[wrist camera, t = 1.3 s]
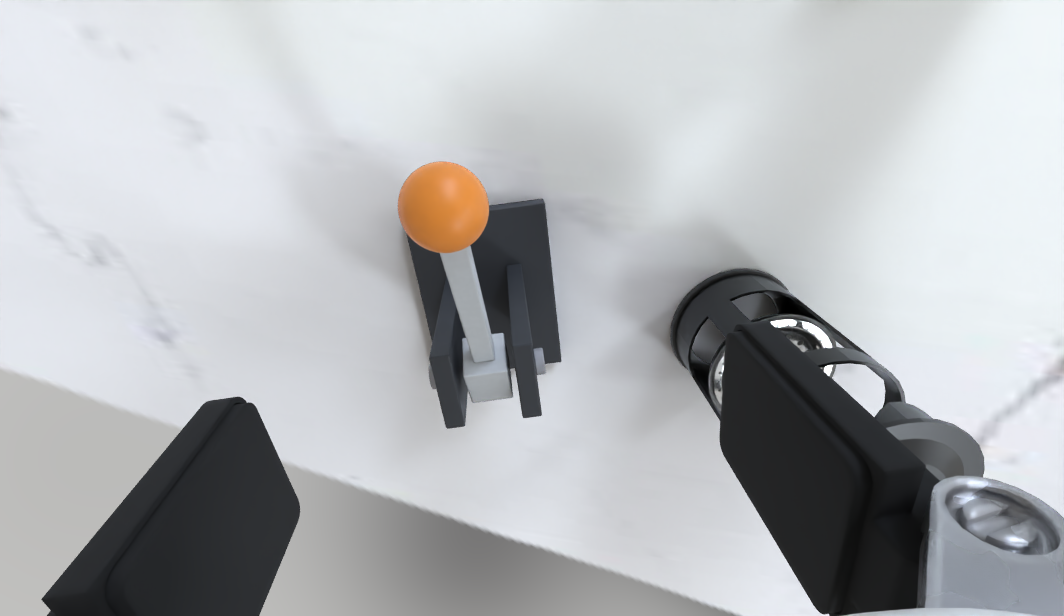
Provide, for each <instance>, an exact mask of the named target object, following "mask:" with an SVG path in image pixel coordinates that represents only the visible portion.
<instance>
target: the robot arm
mask: <svg viewBox="0 0 1064 616" xmlns="http://www.w3.org/2000/svg"><path fill="white" fill-rule="evenodd" d="M720 445H721V449H722V452H723V455H724V457H725V458H726V460H727V462H728V463H729V465H730V467H731V468H732V470H733V472H734V473H735V475H736V477H737V478H738V480H739V482H740V483H741V485H742V487H743V488H744V490H745V492H746V493H747V495H748V497H749V498H750V500H751V502H752V503H753V505H754V507H755V508H756V510H757V512H758V513H759V515H760V517H761V518H762V520H763V522H764V523H765V525H766V527H767V528H768V530H769V532H770V533H771V535H772V537H773V538H774V540H775V542H776V543H777V545H778V547H779V548H780V550H781V552H782V553H783V555H784V557H785V558H786V560H787V562H788V563H789V565H790V567H791V568H792V570H793V572H794V573H795V575H796V577H797V578H798V580H799V582H800V583H801V585H802V587H803V588H804V590H805V592H806V593H807V595H808V597H809V598H810V600H811V602H812V603H813V605H814V606H815V608H816V609H817V610H818V611H819V612H820V613H822V614H829V615H830V616H1064V518H1063V517H1062V516H1061V515H1060V514H1059V513H1058V512H1057V511H1056V510H1054V509H1053V508H1051V507H1050V506H1049V505H1047V504H1046V503H1044V502H1043V501H1042V500H1040V499H1039V498H1037V497H1035V496H1033V495H1031V494H1029V493H1027V492H1025V491H1023V490H1021V489H1019V488H1017V487H1014V486H1011V485H1009V484H1006V483H1003V482H1000V481H997V480H993V479H988V478H983V477H978V476H954V477H950V478H946V479H943V480H942V481H940V480H939V479H937V478H936V477H935V476H934V475H933V474H932V473H931V472H930V471H929V470H928V469H927V468H926V465H925V464H924V463H923V462H922V461H921V460H920V459H919V458H918V457H917V456H915V455H914V454H913V453H912V452H911V451H910V450H909V449H908V448H907V447H906V446H905V445H903V444H902V443H901V442H900V441H899V440H898V439H897V438H896V437H895V436H894V435H893V434H892V433H890V432H889V431H888V430H887V429H886V428H885V427H884V426H883V425H882V424H881V423H880V422H878V421H877V420H876V419H875V418H874V417H873V416H872V415H871V414H870V413H869V412H868V411H867V410H865V409H864V408H863V407H862V406H861V405H860V404H859V403H858V402H857V401H856V400H855V399H853V398H852V397H851V396H850V395H849V394H848V393H847V392H846V391H845V390H844V389H843V388H842V387H840V386H839V385H838V384H837V383H836V382H835V381H834V380H833V379H832V378H831V377H830V376H828V375H827V374H826V373H825V372H824V371H823V370H822V369H821V368H820V367H819V366H818V365H817V364H815V363H814V362H813V361H812V360H811V359H810V358H809V357H808V356H807V355H806V354H805V353H804V352H802V351H801V350H800V349H799V348H798V347H797V346H796V345H795V344H794V343H793V342H792V341H790V340H789V339H788V338H787V337H786V336H785V335H784V334H783V333H782V332H781V331H780V330H779V329H777V328H776V327H775V326H774V325H773V324H772V323H771V322H769V321H768V320H763V321H756V322H749V323H743V324H738V325H736V326H735V328H734V332H731V333H728V334H727V336H726V340H725V356H724V373H723V389H722V405H721V422H720ZM299 515H300V505H299V501H298V498H297V496H296V494H295V492H294V489H293V487H292V485H291V483H290V481H289V478H288V477H287V474H286V472H285V470H284V467H283V465H282V463H281V461H280V459H279V456H278V454H277V452H276V450H275V448H274V445H273V443H272V441H271V439H270V437H269V434H268V432H267V430H266V428H265V426H264V423H263V421H262V419H261V417H260V415H259V412H258V410H257V408H256V407H255V405H254V404H252V403H247V402H246V401H245V400H244V399H243V398H241V397H233V398H226V399H219V400H212V401H208V402H206V403H205V404H203V405H202V406H201V408H200V409H199V410H198V411H197V412H196V414H195V415H194V416H193V417H192V418H191V420H190V421H189V422H188V423H187V424H186V426H185V427H184V428H183V429H182V431H181V432H180V433H179V434H178V435H177V437H176V438H175V439H174V440H173V441H172V443H171V444H170V445H169V446H168V448H167V449H166V450H165V451H164V452H163V453H162V455H161V456H160V457H159V458H158V460H157V461H156V462H155V463H154V464H153V465H152V467H151V468H150V469H149V470H148V472H147V473H146V474H145V475H144V476H143V478H142V479H141V480H140V481H139V483H138V484H137V485H136V486H135V487H134V488H133V490H132V491H131V492H130V493H129V494H128V496H127V497H126V498H125V499H124V500H123V502H122V503H121V504H120V505H119V506H118V508H117V509H116V510H115V511H114V512H113V514H112V515H111V516H110V517H109V518H108V520H107V521H106V522H105V523H104V525H103V526H102V527H101V528H100V529H99V531H98V532H97V533H96V534H95V535H94V537H93V538H92V539H91V540H90V542H89V543H88V544H87V545H86V546H85V547H84V549H83V550H82V551H81V552H80V554H79V555H78V556H77V557H76V558H75V560H74V561H73V562H72V563H71V565H69V567H68V568H67V569H66V570H65V572H64V573H63V574H62V575H61V576H60V578H59V579H58V580H57V581H56V582H55V584H54V585H53V586H52V587H51V589H50V590H49V591H48V592H47V593H46V595H45V596H44V597H43V598H42V600H43V602H44V603H45V604H46V605H47V606H48V607H49V609H50V610H51V611H50V612H49V614H48V615H47V616H259V614H260V612H261V609H262V607H263V605H264V602H265V600H266V597H267V595H268V593H269V590H270V588H271V585H272V583H273V581H274V578H275V576H276V573H277V571H278V568H279V566H280V563H281V561H282V559H283V556H284V554H285V551H286V549H287V546H288V544H289V542H290V539H291V537H292V534H293V532H294V529H295V527H296V525H297V522H298V519H299Z"/></svg>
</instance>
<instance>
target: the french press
mask: <svg viewBox="0 0 1064 616" xmlns="http://www.w3.org/2000/svg"><path fill="white" fill-rule="evenodd" d="M754 293H765V294H767V295H768V296H769V297H770V298H771V299H772V300H773V302H774V304H775V306H776V310H777V314H773V315H768V316H763V317H760V318H757V319H754V320H752V321H750V320H749V319H748V318H747V317H746V316H745V315H744V314H743V313H742V312H741V311H740V310H739V309H738V308H737V307H736V306H735V305H734V304H733V303H732V302H731V301H733V300H735V299H737V298H740V297H742V296H746V295H750V294H754ZM708 318H709V319H710V320H711V321H712V322H713V323H714V325H715V326H716V327H717V328H718V329H719V330H720V332H721V333H722V334H723V335H724V336H725V338H726V336H727V334H728V333H731V332H734V328H735V326H736V325H738V324H743V323H749V322H756V321H763V320H768V321H769V322H771V323H772V324H773V325H774V326H775V327H776V328H777V329H779V330H780V331H781V332H782V333H783V334H784V335H785V336H786V337H787V338H788V339H789V340H790V341H792V342H793V343H794V344H795V345H796V346H797V347H798V348H799V349H800V350H801V351H802V352H804V353H805V354H806V355H807V356H808V357H809V358H810V359H811V360H812V361H813V362H814V363H815V364H817V365H818V366H819V367H820V368H821V369H822V370H823V371H824V372H825V373H826V374H827V375H828V376H830V377H831V378H832V376H833V374H834V371H835V368H836V364H847V363H852V364H862V365H866V366H867V367H869V368H870V369H871V370H872V371H873V372H875V373H876V374H877V375H878V376H880V377H881V378H882V379H883V380H884V384H885V390H886V392H885V402H884V405H883V408H882V409H881V410H880V411H879V412H878V413H877V415H876V416H875V417H874V418H875V419H876V420H877V421H878V422H880V423H881V424H882V425H883V426H884V427H885V428H886V429H887V430H888V431H889V432H890V433H892V434H893V435H894V436H895V437H896V438H897V439H898V440H899V441H900V442H901V443H902V444H903V445H905V446H906V447H907V448H908V449H909V450H910V451H911V452H912V453H913V454H914V455H915V456H917V457H918V458H919V459H920V460H921V461H922V462H923V463H924V464H925V465H926V468H927V469H928V470H929V471H930V472H931V473H932V474H933V475H934V476H935V477H936V478H937V479H939V480H940V481H942V480H943V479H946V478H950V477H954V476H978V477H983V474H984V456H983V454H982V451H981V449H980V446H979V445H978V443H977V442H976V441H975V440H974V439H973V438H972V437H971V436H970V435H969V434H968V433H967V432H965V431H964V430H962V429H960V428H959V427H957V426H955V425H954V424H951V423H948V422H945V421H941V420H938V419H933V418H931V417H930V416H929V415H928V414H926V413H925V412H924V411H922V410H920V409H919V408H917V407H915V406H913V405H910V404H907V403H906V402H905V395H904V391H903V389H902V387H901V385H900V382H899V381H898V380H897V379H896V378H895V377H894V376H893V374H892V373H891V372H889V371H888V370H887V369H886V368H884V367H883V366H882V365H881V364H879V363H878V362H877V361H875V360H874V359H873V358H872V357H870V356H869V355H868V354H867V353H865V352H864V351H863V350H862V349H860V348H859V347H858V346H856V345H855V344H854V343H853V342H851V341H850V340H849V339H848V338H846V337H845V336H844V335H842V334H841V333H840V332H839V331H837V330H836V329H835V328H834V327H832V326H831V325H830V324H829V323H827V322H826V321H825V320H823V319H822V318H821V317H820V316H818V315H817V314H816V313H815V312H813V311H812V310H811V309H810V308H808V307H807V306H806V305H804V304H803V303H802V302H801V301H799V300H798V299H797V298H796V297H794V296H793V295H792V294H791V293H789V291H788V289H787V288H786V287H785V286H784V285H783V284H782V283H781V281H779V280H778V279H776V278H775V277H773V276H772V275H770V274H768V273H765V272H762V271H759V270H752V269H735V270H730V271H726V272H722V273H719V274H717V275H715V276H712V277H710V278H708V279H707V280H705V281H703V282H702V283H700V284H699V285H697V286H696V287H695V288H694V289H693V290H692V291H691V292H690V293H689V294H688V295H687V296H686V297H685V299H684V300H683V301H682V302H681V304H680V305H679V307H678V309H677V311H676V313H675V315H674V318H673V322H672V325H671V344H672V348H673V350H674V353H675V355H676V357H677V358H678V360H679V361H680V363H681V364H682V365H683V366H684V367H685V368H686V369H687V370H688V371H689V372H690V374H691V375H692V377H693V379H694V380H695V382H696V383H697V385H698V386H699V388H700V390H701V391H702V393H703V394H704V396H705V398H706V399H707V401H708V402H709V404H710V406H711V407H712V409H713V410H714V412H715V413H716V415H717V417H718V418H719V420H720V421H721V405H722V389H723V373H724V356H725V340H726V339H725V340H724V341H723V343H722V344H721V345H720V347H719V348H718V350H717V352H716V354H715V355H714V357H713V360H712V363H711V364H709V363H706V362H704V361H703V360H701V359H700V358H698V357H697V356H696V355H695V354H694V352H693V350H692V345H693V343H694V340H695V337H696V335H697V333H698V331H699V330H700V328H701V326H702V325H703V324H704V323H705V322H706V320H707V319H708ZM834 339H835V340H836V341H837V342H838V343H839V344H841V345H842V346H843V347H844V348H839V347H836V342H835V340H834Z"/></svg>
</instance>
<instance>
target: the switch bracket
mask: <svg viewBox="0 0 1064 616" xmlns="http://www.w3.org/2000/svg"><path fill="white" fill-rule="evenodd" d="M406 234H407V233H406ZM407 238H408V242H409V246H410V250H411V255H412V259H413V263H414V267H415V271H416V276H417V280H418V284H419V288H420V292H421V297H422V301H423V305H424V309H425V313H426V318H427V322H428V326H429V330H430V335H431V339H432V347H431V352H430V357H429V360H430V364H429V379H430V384H431V387H432V388H433V389H437V392H438V397H439V401H440V405H441V409H442V413H443V417H444V421H445V425H446V428H447V429H449V428H456V427H463V426H465V420H466V406H467V393H468V388H467V385H466V383H465V380H464V377H463V349H462V339H463V338H466V336H465V333H464V330H463V327H462V323H461V320H460V317H459V314H458V310H457V307H456V304H455V301H454V298H453V294H452V291H451V288H450V285H449V281H448V278H447V275H446V272H445V269H444V265H443V262H442V259H441V256H440V253H437V252H433V251H430V250H427V249H425V248H423V247H421V246H420V245H418V244H417V243H416V242H414V241H413V240H412V239H411V238H410V237H409V236H408V234H407ZM470 246H471V251H472V255H473V259H474V263H475V267H476V272H477V276H478V280H479V284H480V288H481V293H482V297H483V301H484V305H485V309H486V314H487V318H488V322H489V326H490V330H491V334H498V333H503V334H504V337H505V342H506V347H507V352H508V357H509V362H510V369H512V368H515V371H516V377H517V383H518V390H519V396H520V403H521V409H522V416H523V418H529V417H536V416H541V415H542V412H541V405H540V397H539V389H538V382H537V375H541V374H546V370H545V364H548V363H556V362H561V353H560V343H559V334H558V324H557V315H556V305H555V296H554V286H553V277H552V267H551V257H550V248H549V238H548V229H547V219H546V210H545V203H544V200H543V199H537V200H530V201H522V202H515V203H507V204H499V205H492V206H489V216H488V220H487V224H486V226H485V228H484V231H483V232H482V234H481V235H480V237H479V238H478V239H477V240H476V241H475V242H474V243H473V244H471V245H470Z"/></svg>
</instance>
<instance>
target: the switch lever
mask: <svg viewBox="0 0 1064 616" xmlns="http://www.w3.org/2000/svg"><path fill="white" fill-rule="evenodd" d="M398 213H399V218H400V221H401V224H402V226H403V228H404V230H405V231H406V233H407V234H408V236H409V237H410V238H411V239H412V240H413V241H414V242H416V243H417V244H418V245H420V246H421V247H423V248H425V249H427V250H430V251H433V252H437V253H440V256H441V259H442V262H443V265H444V269H445V272H446V275H447V278H448V281H449V285H450V288H451V291H452V294H453V298H454V301H455V304H456V307H457V310H458V314H459V317H460V320H461V323H462V327H463V330H464V333H465V336H466V338H463V339H462V349H463V377H464V380H465V383H466V385H467V388H468V391H469V394H470V397H471V400H472V402H473V403H477V402H485V401H492V400H499V399H506V398H512V397H513V392H512V382H511V372H510V362H509V357H508V352H507V347H506V342H505V337H504V334H503V333H498V334H491V330H490V326H489V322H488V318H487V314H486V309H485V305H484V301H483V297H482V293H481V288H480V284H479V280H478V276H477V272H476V267H475V263H474V259H473V255H472V251H471V246H470V245H471V244H473V243H474V242H475V241H476V240H477V239H478V238H479V237H480V235H481V234H482V232H483V231H484V228H485V226H486V224H487V220H488V216H489V202H488V197H487V194H486V191H485V189H484V187H483V185H482V184H481V182H480V181H479V179H478V178H477V177H476V176H475V175H474V174H473V173H472V172H470V171H469V170H468V169H466V168H464V167H463V166H460V165H458V164H455V163H451V162H433V163H429V164H426V165H424V166H421V167H420V168H418V169H417V170H415V171H414V172H413V173H412V174H411V175H410V176H409V177H408V178H407V179H406V181H405V182H404V184H403V186H402V188H401V191H400V194H399V199H398Z"/></svg>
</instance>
